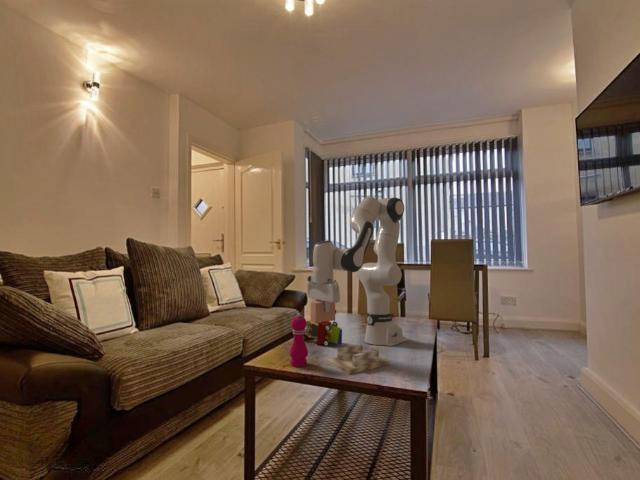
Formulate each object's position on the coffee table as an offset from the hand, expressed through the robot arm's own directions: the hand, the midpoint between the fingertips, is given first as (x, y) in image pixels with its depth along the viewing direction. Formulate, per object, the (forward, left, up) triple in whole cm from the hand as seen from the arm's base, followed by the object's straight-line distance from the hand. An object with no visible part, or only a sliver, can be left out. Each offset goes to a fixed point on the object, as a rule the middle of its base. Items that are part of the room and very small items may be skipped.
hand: (323, 310), depth 140 cm
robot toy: (-11, -16, -19) cm, 27 cm away
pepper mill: (+14, +4, -19) cm, 24 cm away
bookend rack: (-6, +16, -19) cm, 26 cm away
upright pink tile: (0, 0, -4) cm, 4 cm away
